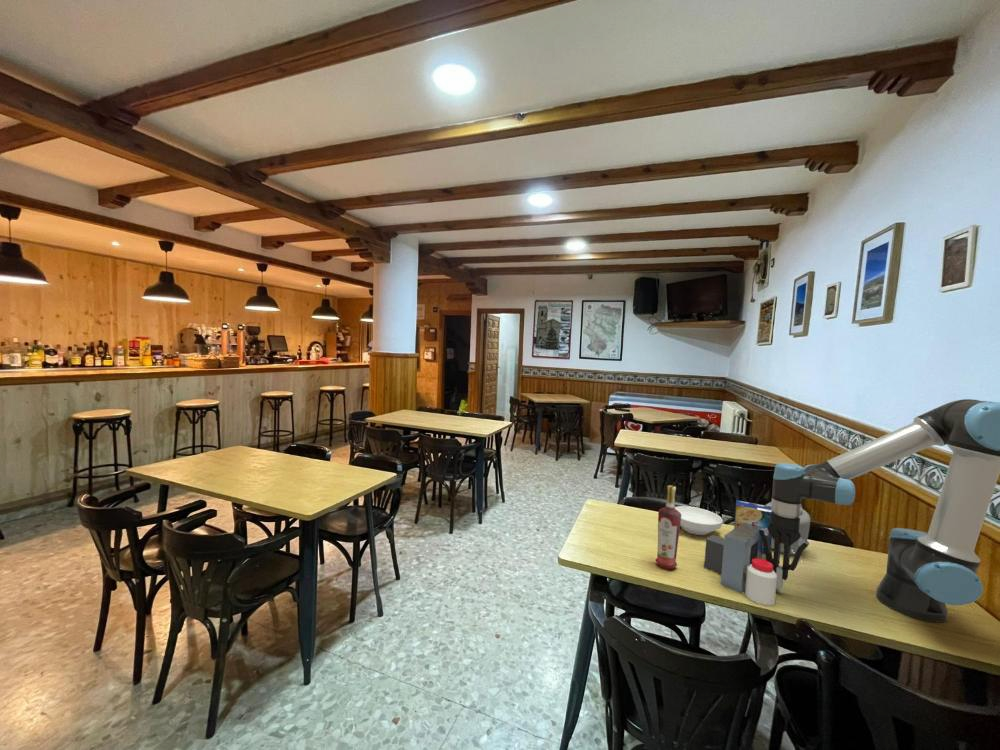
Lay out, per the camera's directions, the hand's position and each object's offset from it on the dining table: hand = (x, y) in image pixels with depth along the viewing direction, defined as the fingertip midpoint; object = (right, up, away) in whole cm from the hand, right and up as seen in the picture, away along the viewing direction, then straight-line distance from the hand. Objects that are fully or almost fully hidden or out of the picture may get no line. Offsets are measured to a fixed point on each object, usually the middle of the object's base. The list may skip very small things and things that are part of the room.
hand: (778, 587), depth 126 cm
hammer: (-7, -1, +8) cm, 11 cm away
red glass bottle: (-30, 0, +13) cm, 33 cm away
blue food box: (+1, -2, +16) cm, 17 cm away
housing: (-7, -1, +8) cm, 11 cm away
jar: (+23, -2, +30) cm, 38 cm away
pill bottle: (-8, -2, -3) cm, 9 cm away
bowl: (-5, 0, +44) cm, 44 cm away
